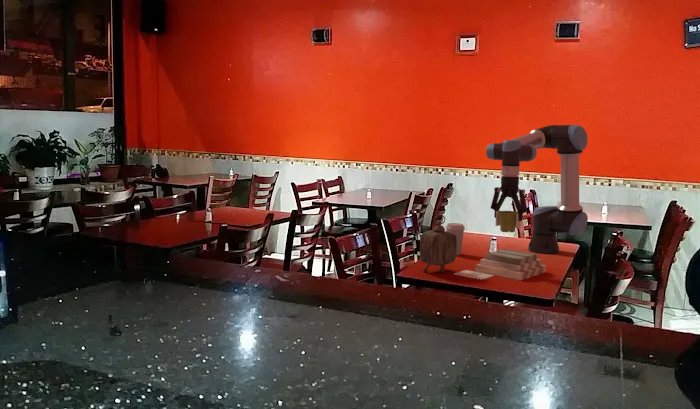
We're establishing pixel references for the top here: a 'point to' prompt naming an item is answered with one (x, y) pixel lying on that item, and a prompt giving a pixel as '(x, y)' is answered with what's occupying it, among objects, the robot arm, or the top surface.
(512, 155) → the robot arm
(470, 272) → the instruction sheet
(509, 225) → the plant pot
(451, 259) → the tabletop clock
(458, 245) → the coffee cup
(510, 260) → the stepped tower
